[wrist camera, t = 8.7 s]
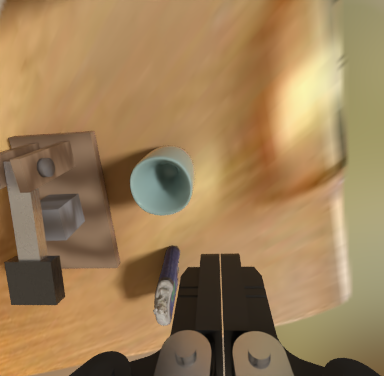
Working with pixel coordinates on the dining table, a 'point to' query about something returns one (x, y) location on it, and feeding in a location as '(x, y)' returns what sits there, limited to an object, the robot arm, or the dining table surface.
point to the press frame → (67, 195)
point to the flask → (167, 286)
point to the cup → (163, 180)
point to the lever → (30, 251)
